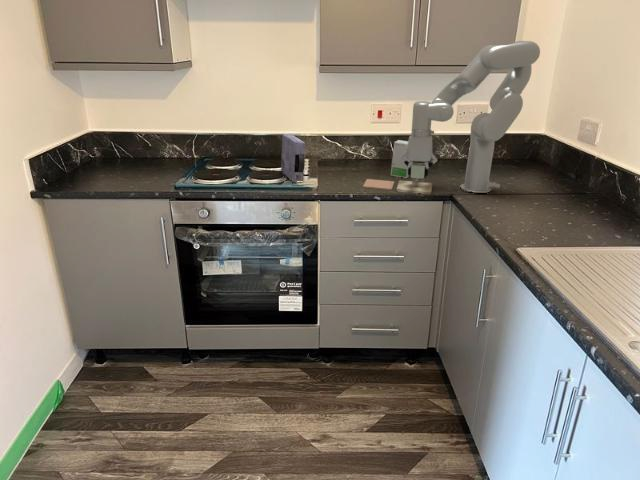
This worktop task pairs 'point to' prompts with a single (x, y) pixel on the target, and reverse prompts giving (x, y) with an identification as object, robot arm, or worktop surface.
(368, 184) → the terracotta tile
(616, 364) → the worktop surface
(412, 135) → the robot arm
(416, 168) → the grey green cube
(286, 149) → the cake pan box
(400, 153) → the skincare box
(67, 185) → the worktop surface
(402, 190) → the post stand
